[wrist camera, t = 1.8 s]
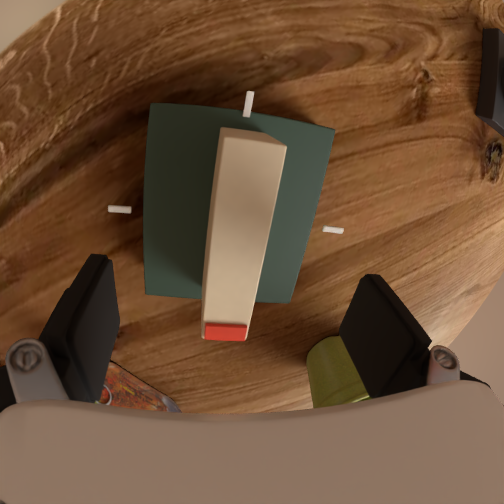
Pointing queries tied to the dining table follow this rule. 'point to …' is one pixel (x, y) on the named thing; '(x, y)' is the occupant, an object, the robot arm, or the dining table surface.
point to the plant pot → (333, 375)
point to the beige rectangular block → (238, 229)
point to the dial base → (200, 189)
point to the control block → (492, 80)
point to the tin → (132, 392)
